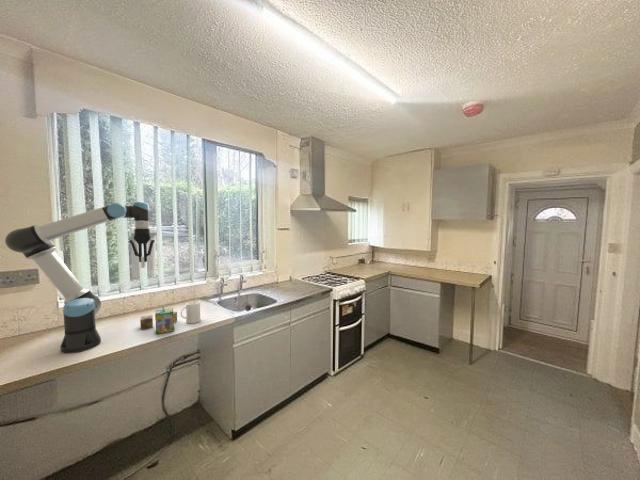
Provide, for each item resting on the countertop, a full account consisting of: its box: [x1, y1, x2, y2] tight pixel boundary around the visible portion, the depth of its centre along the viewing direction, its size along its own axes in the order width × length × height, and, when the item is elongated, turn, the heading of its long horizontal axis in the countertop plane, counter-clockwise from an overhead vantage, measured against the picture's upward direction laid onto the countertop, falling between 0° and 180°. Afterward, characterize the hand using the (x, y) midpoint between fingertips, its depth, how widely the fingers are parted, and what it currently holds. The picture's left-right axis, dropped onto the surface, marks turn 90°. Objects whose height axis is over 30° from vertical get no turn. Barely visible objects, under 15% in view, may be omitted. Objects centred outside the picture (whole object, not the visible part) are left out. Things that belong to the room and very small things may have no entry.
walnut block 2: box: [173, 311, 178, 324], centre depth 165 cm, size 6×6×6 cm
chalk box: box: [154, 304, 175, 335], centre depth 153 cm, size 9×9×15 cm
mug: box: [180, 300, 201, 324], centre depth 167 cm, size 12×8×12 cm
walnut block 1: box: [139, 314, 154, 330], centre depth 158 cm, size 6×6×6 cm
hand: (143, 267), depth 156 cm, fingers closed
